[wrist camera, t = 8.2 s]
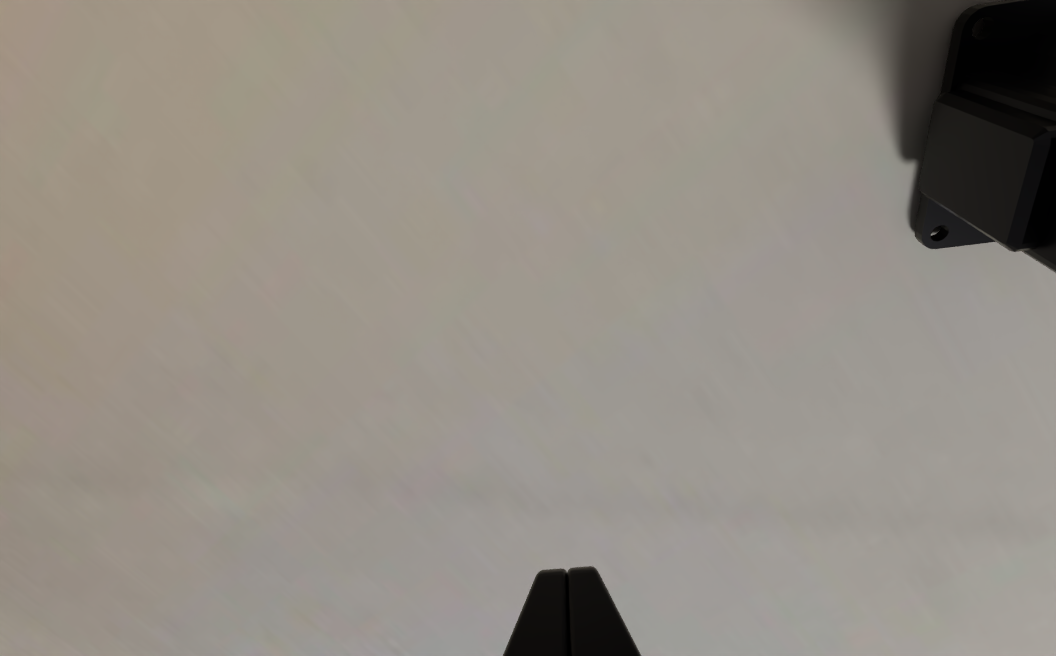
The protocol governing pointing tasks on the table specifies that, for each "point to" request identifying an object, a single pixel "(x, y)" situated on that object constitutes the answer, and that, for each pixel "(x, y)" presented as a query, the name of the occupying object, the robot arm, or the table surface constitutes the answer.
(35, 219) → the table surface
